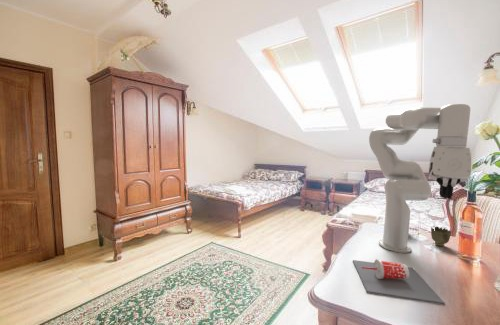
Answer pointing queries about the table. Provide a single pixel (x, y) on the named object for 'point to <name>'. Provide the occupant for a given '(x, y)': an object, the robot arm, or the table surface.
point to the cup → (440, 236)
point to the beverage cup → (390, 270)
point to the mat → (396, 285)
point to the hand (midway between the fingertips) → (445, 197)
